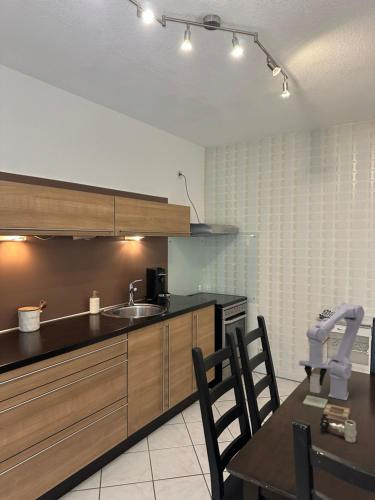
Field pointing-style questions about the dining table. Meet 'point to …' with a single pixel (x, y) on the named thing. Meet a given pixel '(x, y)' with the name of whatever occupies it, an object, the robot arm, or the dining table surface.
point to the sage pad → (315, 401)
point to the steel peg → (315, 383)
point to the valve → (340, 428)
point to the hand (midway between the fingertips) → (315, 383)
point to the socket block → (339, 410)
